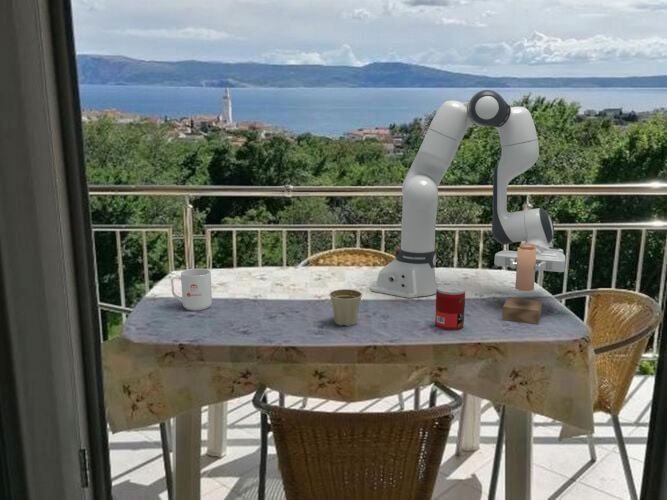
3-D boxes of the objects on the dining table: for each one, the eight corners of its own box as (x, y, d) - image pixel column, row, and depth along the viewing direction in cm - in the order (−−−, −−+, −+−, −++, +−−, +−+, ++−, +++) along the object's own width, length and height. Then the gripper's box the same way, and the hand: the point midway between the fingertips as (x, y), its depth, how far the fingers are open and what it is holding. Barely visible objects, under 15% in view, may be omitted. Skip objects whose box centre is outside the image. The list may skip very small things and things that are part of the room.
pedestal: (502, 319, 187) (502, 306, 186) (507, 309, 196) (507, 297, 195) (537, 324, 183) (538, 310, 183) (541, 313, 192) (542, 300, 192)
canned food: (463, 331, 178) (465, 293, 175) (434, 329, 179) (435, 291, 177) (463, 322, 185) (465, 285, 183) (435, 320, 187) (437, 283, 184)
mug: (213, 302, 204) (211, 268, 201) (210, 311, 195) (209, 275, 193) (174, 303, 203) (172, 269, 200) (170, 312, 194) (168, 276, 191)
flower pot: (351, 330, 178) (351, 300, 176) (323, 324, 183) (322, 295, 181) (368, 321, 186) (368, 292, 184) (340, 315, 191) (340, 287, 189)
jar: (514, 289, 186) (516, 246, 184) (516, 285, 191) (519, 242, 188) (533, 291, 185) (535, 247, 182) (534, 286, 189) (537, 243, 186)
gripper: (499, 243, 201) (489, 253, 189) (568, 249, 193) (562, 259, 181) (498, 263, 203) (488, 273, 191) (567, 270, 194) (561, 281, 182)
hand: (525, 267), depth 186 cm, fingers closed on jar, 5 cm apart
